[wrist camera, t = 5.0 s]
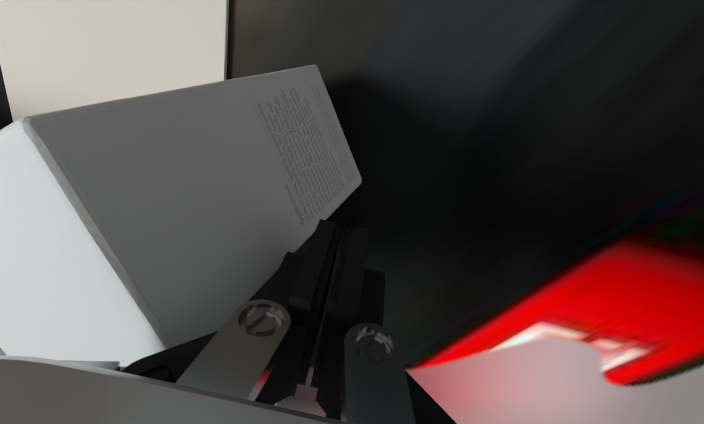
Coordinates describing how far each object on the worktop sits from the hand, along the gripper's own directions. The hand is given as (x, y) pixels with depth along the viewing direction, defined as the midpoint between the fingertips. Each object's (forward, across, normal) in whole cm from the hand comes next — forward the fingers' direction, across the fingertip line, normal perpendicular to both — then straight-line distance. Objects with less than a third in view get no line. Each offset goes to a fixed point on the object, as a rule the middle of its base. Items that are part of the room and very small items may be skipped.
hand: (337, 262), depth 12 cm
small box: (+9, +4, 0) cm, 10 cm away
